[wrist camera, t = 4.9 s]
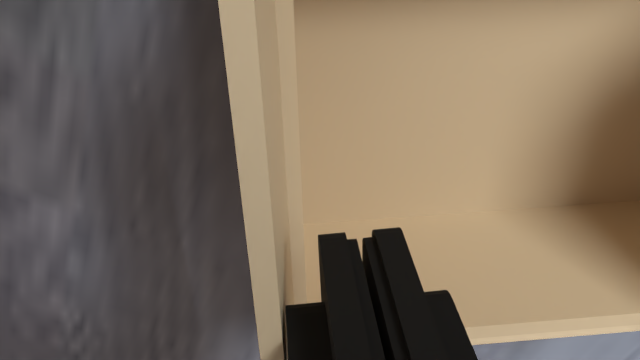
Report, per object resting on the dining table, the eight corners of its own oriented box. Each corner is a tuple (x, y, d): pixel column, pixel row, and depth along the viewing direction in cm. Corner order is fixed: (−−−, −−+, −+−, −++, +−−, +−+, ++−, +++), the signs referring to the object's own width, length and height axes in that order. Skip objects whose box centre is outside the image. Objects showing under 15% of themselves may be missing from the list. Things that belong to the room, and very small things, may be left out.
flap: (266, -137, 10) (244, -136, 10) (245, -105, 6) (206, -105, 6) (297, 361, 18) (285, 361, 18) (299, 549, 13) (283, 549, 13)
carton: (255, -189, 16) (252, -198, 10) (829, -201, 17) (1122, -215, 11) (285, 235, 25) (292, 362, 19) (665, 208, 26) (783, 320, 20)
